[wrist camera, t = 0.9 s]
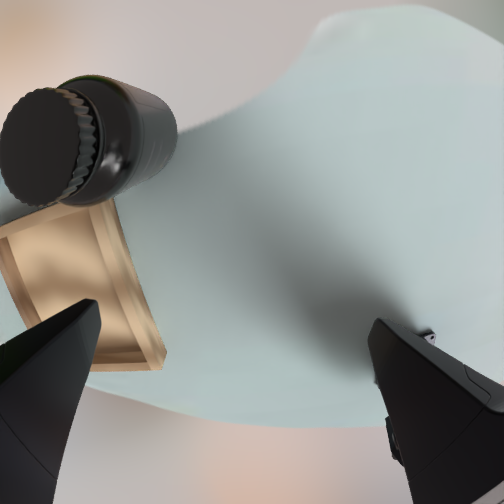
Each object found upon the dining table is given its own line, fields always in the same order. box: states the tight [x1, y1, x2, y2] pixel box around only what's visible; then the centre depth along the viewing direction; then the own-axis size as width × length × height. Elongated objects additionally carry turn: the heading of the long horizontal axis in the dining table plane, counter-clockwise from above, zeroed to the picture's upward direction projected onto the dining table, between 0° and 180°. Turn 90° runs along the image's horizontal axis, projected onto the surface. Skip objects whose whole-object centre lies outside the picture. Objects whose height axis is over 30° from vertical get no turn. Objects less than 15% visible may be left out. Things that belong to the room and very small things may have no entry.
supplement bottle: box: [0, 75, 177, 208], centre depth 14 cm, size 7×7×12 cm
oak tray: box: [0, 198, 167, 372], centre depth 23 cm, size 16×14×2 cm
